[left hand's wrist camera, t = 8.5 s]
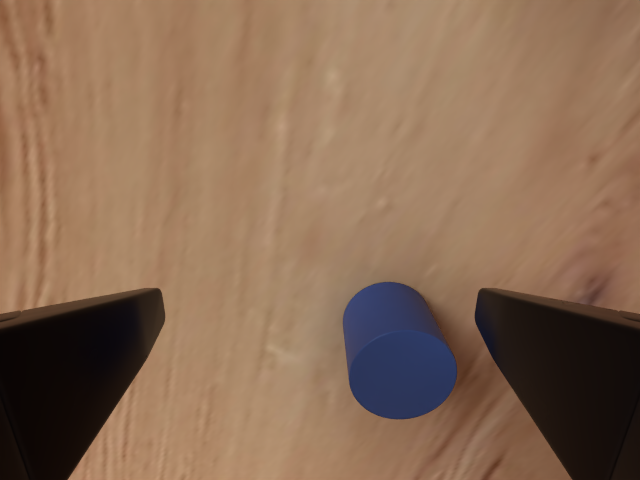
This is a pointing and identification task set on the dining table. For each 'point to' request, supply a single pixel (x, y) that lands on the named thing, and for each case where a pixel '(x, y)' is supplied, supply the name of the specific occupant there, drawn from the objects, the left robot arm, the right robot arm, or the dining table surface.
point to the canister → (396, 352)
